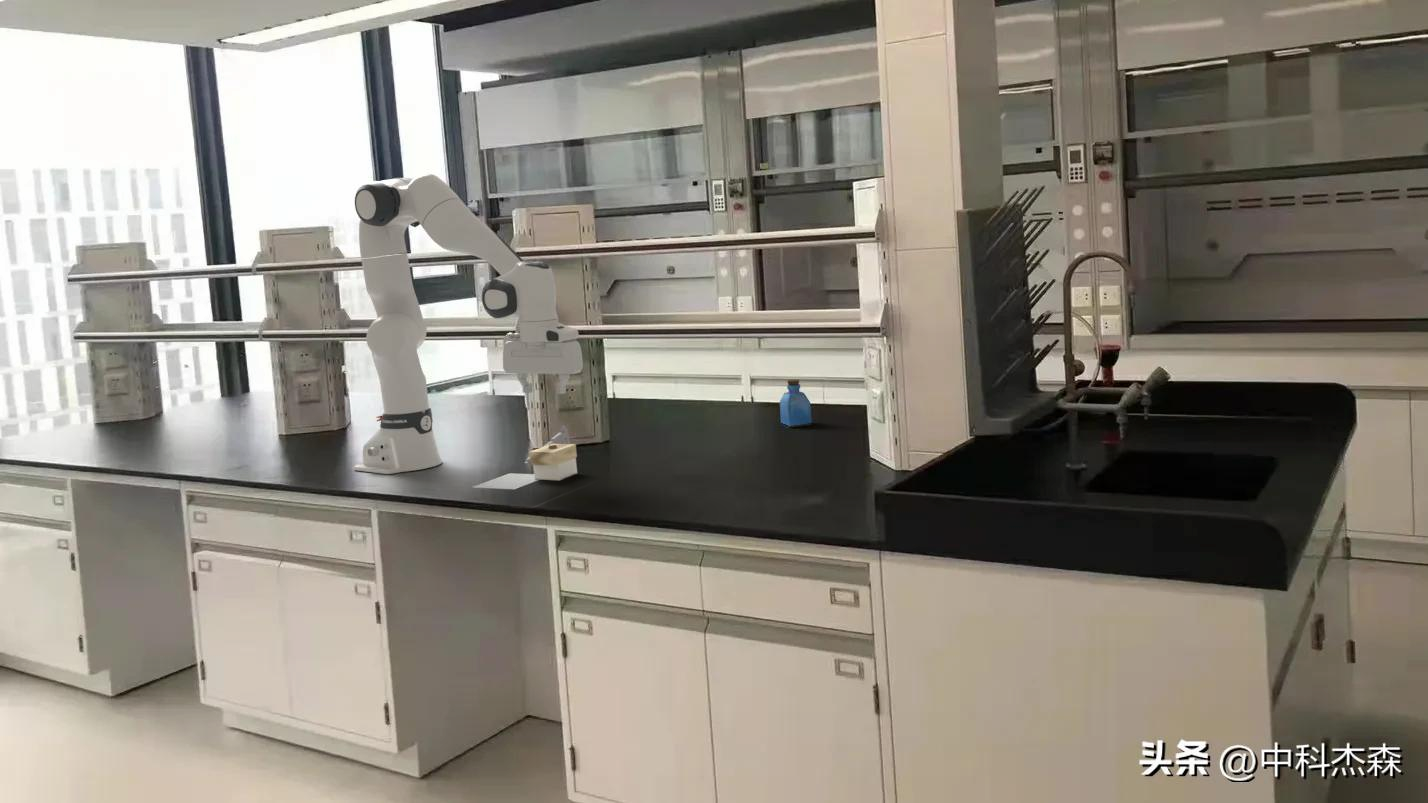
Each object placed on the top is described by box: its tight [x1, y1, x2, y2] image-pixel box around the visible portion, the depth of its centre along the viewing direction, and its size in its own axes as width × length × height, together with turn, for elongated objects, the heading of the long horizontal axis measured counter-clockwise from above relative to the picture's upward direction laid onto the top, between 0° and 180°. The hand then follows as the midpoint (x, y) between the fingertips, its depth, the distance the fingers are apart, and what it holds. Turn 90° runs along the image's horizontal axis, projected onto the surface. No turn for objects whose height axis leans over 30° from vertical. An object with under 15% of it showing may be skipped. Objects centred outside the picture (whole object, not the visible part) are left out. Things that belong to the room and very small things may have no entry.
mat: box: [471, 472, 541, 490], centre depth 272 cm, size 12×14×1 cm
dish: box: [532, 457, 578, 481], centre depth 274 cm, size 7×7×4 cm
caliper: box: [524, 425, 571, 464], centre depth 301 cm, size 20×1×6 cm, turn 156°
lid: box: [529, 443, 578, 466], centre depth 273 cm, size 6×9×4 cm
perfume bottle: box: [779, 379, 812, 426], centre depth 316 cm, size 6×6×12 cm
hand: (544, 393), depth 273 cm, fingers open, 8 cm apart
